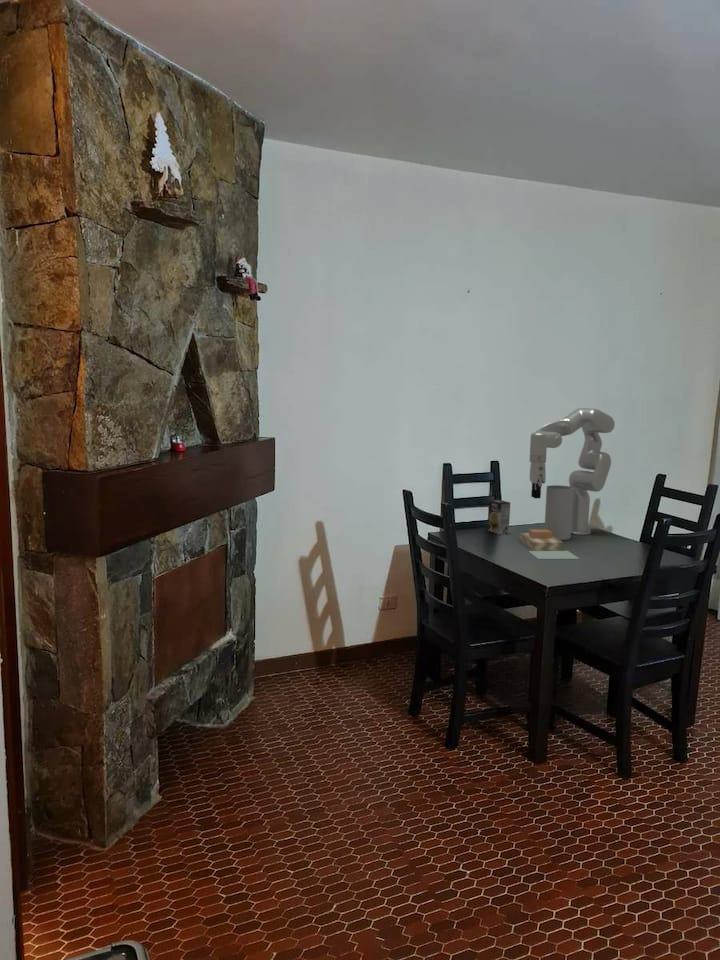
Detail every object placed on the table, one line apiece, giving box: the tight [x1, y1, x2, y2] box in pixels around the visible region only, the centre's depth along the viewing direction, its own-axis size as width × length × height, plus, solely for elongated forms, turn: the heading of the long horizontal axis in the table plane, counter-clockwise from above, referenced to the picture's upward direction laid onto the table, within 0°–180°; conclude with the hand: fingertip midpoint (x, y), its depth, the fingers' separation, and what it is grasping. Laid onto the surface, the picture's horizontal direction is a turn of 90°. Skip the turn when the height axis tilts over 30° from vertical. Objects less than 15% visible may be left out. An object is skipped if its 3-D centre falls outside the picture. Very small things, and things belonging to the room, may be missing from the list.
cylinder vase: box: [543, 484, 574, 541], centre depth 339 cm, size 12×12×25 cm
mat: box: [528, 550, 580, 560], centre depth 306 cm, size 18×14×1 cm
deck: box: [519, 532, 564, 551], centre depth 323 cm, size 14×20×4 cm
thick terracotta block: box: [528, 528, 552, 539], centre depth 323 cm, size 9×6×3 cm, turn 94°
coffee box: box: [487, 499, 511, 535], centre depth 350 cm, size 9×6×16 cm
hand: (535, 497), depth 330 cm, fingers open, 2 cm apart
